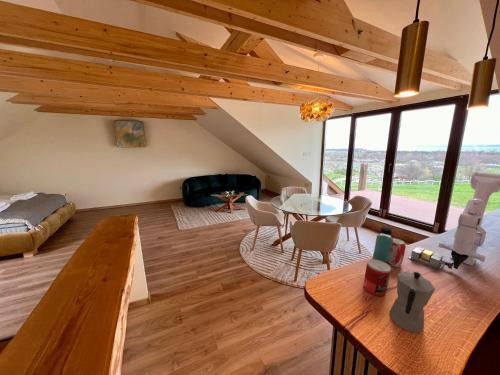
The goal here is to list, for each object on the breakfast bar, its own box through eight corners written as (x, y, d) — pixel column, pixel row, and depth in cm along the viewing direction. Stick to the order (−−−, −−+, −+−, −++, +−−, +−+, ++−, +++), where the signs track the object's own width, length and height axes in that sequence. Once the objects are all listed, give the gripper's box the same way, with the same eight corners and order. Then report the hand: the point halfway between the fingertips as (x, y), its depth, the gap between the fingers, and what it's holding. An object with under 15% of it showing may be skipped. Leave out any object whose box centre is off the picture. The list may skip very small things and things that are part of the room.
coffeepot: (392, 302, 77) (402, 258, 73) (425, 317, 71) (438, 270, 67) (382, 328, 66) (393, 278, 62) (420, 349, 60) (435, 295, 56)
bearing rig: (408, 258, 106) (410, 250, 105) (413, 253, 110) (415, 245, 109) (439, 270, 96) (441, 261, 95) (444, 264, 101) (446, 256, 100)
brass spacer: (420, 260, 103) (422, 252, 102) (423, 257, 106) (425, 249, 105) (428, 263, 101) (430, 255, 100) (431, 260, 104) (433, 252, 102)
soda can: (404, 269, 97) (409, 245, 94) (387, 267, 98) (392, 243, 95) (397, 260, 103) (402, 238, 101) (381, 258, 105) (385, 236, 102)
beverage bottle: (370, 270, 95) (378, 229, 90) (370, 263, 101) (377, 224, 96) (388, 275, 92) (397, 233, 87) (386, 267, 98) (394, 227, 93)
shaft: (413, 255, 106) (414, 250, 105) (415, 253, 108) (416, 248, 107) (450, 270, 95) (452, 264, 94) (452, 267, 97) (454, 262, 96)
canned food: (378, 299, 78) (383, 273, 75) (358, 286, 85) (362, 261, 82) (390, 293, 82) (395, 268, 79) (370, 280, 88) (375, 257, 86)
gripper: (439, 236, 95) (432, 263, 98) (487, 250, 84) (477, 280, 87) (444, 232, 99) (436, 258, 102) (489, 245, 88) (480, 273, 91)
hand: (455, 267), depth 95 cm, fingers closed
